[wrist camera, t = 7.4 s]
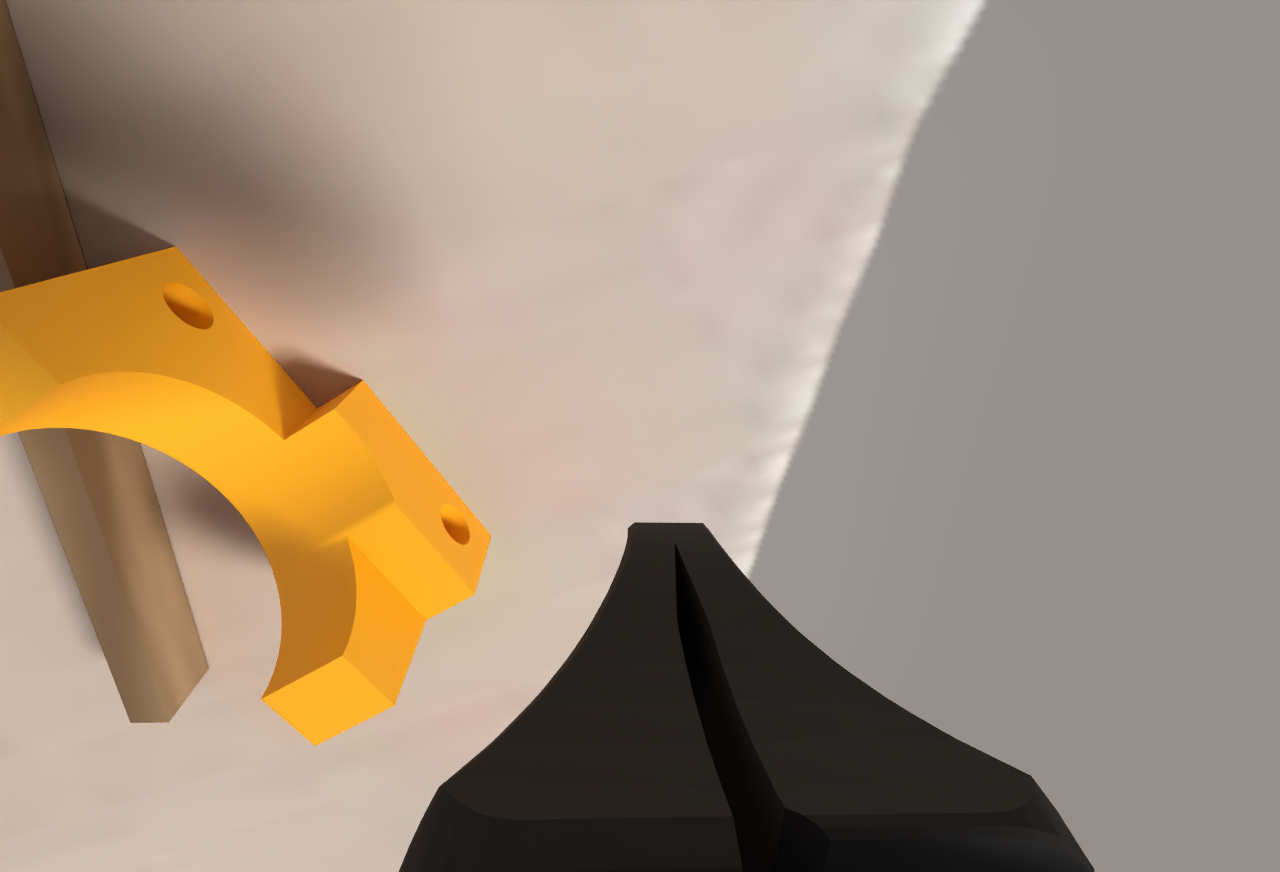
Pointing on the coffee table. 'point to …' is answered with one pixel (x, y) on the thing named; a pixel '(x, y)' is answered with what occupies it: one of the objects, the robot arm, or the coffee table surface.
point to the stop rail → (92, 445)
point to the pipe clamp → (257, 468)
